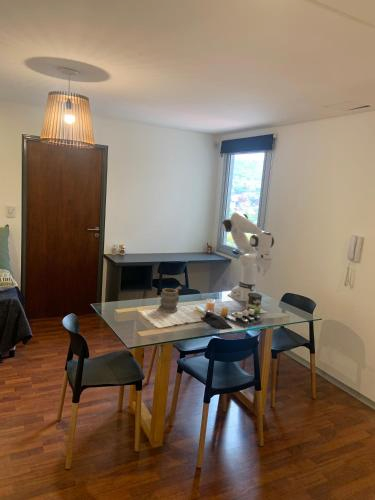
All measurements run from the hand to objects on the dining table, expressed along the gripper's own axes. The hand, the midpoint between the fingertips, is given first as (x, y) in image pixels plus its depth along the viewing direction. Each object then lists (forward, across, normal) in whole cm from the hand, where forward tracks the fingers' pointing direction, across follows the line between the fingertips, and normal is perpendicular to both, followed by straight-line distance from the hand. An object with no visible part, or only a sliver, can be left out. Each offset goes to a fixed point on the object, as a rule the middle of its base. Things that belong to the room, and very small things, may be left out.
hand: (260, 273), depth 259 cm
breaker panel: (+31, +10, -13) cm, 36 cm away
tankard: (+31, -9, -60) cm, 68 cm away
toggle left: (+27, +15, -18) cm, 36 cm away
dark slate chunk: (+32, +16, -33) cm, 49 cm away
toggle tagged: (+27, +12, -12) cm, 32 cm away
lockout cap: (+31, +4, -25) cm, 40 cm away
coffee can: (+32, -5, -1) cm, 32 cm away
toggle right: (+27, +8, -7) cm, 29 cm away
